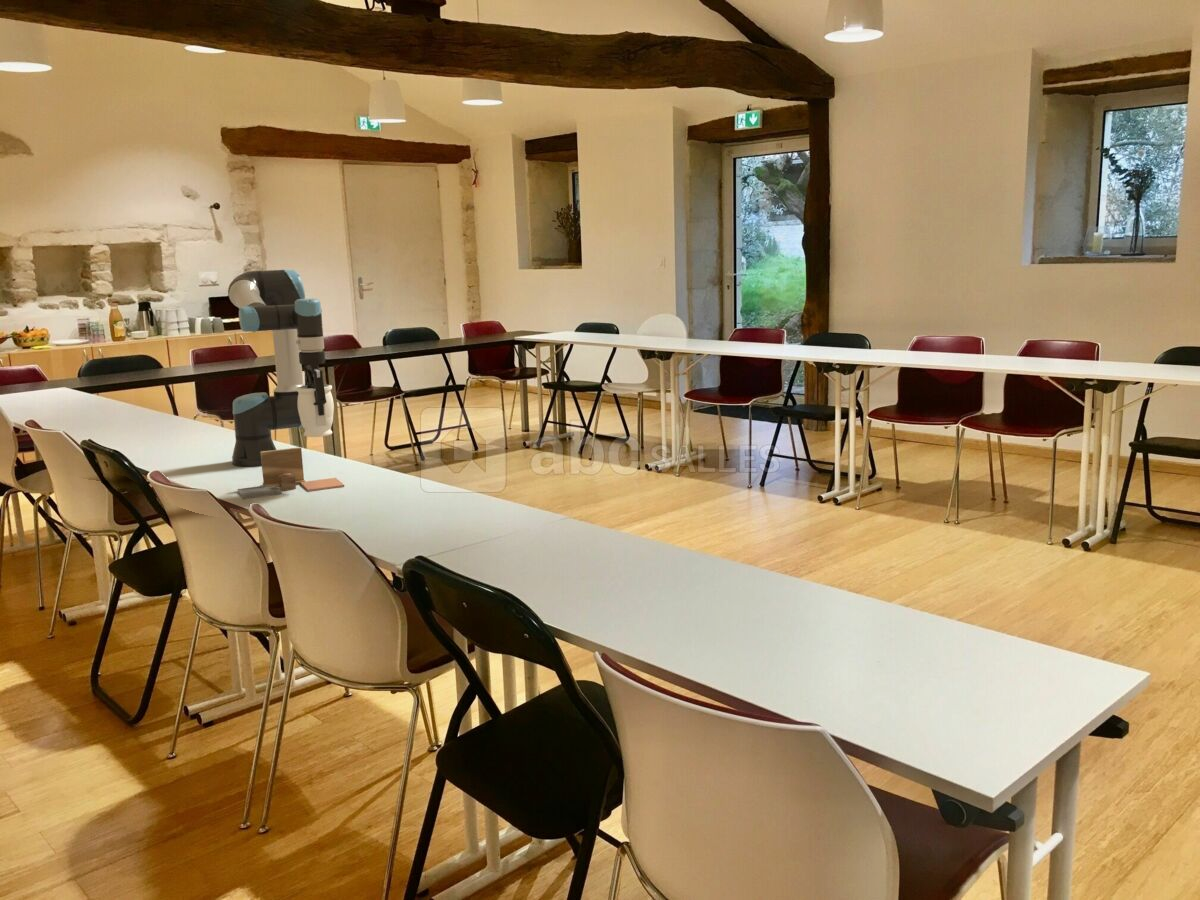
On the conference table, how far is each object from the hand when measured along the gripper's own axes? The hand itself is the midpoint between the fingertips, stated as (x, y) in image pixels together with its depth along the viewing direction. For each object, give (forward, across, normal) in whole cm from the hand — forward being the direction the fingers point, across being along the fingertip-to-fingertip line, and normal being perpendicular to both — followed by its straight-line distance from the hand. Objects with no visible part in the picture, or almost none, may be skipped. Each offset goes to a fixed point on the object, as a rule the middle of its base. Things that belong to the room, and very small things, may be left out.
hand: (317, 423), depth 304 cm
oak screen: (+20, -8, -10) cm, 23 cm away
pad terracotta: (+20, 0, 0) cm, 20 cm away
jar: (+4, 0, 0) cm, 4 cm away
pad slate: (+20, -2, -18) cm, 27 cm away
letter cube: (+20, -2, -10) cm, 22 cm away
